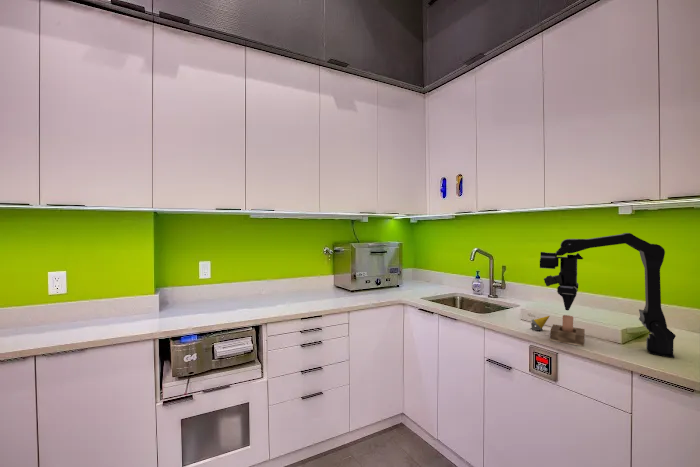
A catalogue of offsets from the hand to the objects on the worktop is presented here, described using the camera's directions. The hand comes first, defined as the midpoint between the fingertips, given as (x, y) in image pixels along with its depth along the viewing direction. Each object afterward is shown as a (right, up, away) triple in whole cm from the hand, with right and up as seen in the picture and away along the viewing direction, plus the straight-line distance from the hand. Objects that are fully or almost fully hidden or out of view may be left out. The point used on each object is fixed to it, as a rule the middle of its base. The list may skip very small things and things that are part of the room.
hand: (567, 308), depth 133 cm
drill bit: (-4, -13, +13) cm, 19 cm away
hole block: (0, -13, 0) cm, 13 cm away
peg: (0, -12, 0) cm, 12 cm away
